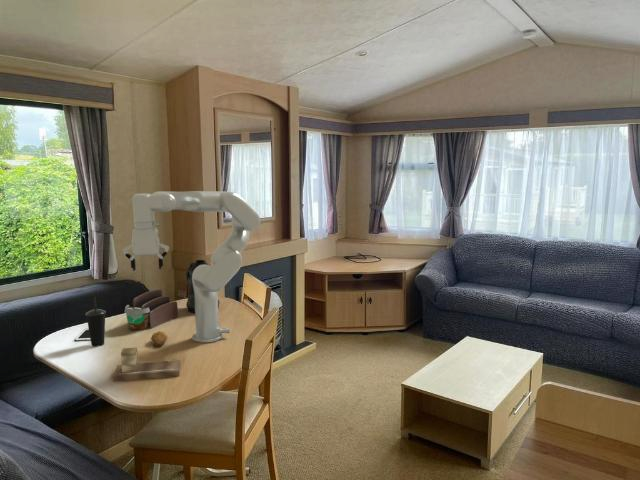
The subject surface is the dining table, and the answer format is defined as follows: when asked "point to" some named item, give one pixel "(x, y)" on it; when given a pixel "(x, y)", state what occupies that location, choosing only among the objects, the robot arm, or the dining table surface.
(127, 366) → the block
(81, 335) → the cell phone
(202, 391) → the dining table surface
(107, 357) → the dining table surface
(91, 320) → the drinking cup
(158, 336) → the croissant
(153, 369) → the walnut board
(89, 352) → the dining table surface
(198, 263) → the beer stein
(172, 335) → the dining table surface
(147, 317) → the food container
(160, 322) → the letter holder
